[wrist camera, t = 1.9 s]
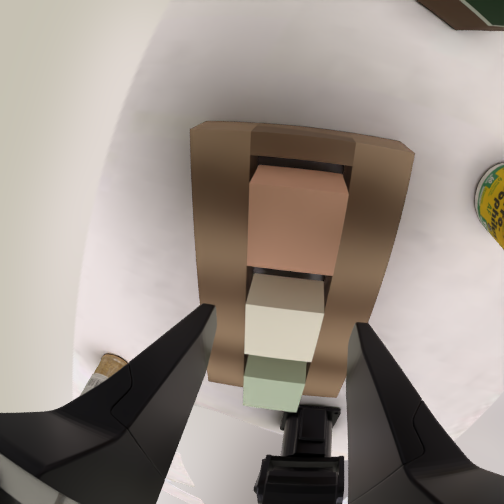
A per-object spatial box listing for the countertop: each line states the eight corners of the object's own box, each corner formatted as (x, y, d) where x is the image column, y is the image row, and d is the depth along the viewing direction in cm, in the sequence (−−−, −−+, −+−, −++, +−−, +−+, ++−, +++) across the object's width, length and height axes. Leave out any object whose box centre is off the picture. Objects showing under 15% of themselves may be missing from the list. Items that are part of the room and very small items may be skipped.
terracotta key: (330, 245, 18) (332, 275, 16) (255, 237, 19) (246, 265, 16) (342, 173, 16) (348, 194, 13) (259, 164, 16) (249, 183, 14)
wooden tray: (336, 372, 29) (336, 397, 26) (216, 357, 30) (208, 381, 27) (399, 141, 17) (414, 153, 14) (206, 121, 18) (189, 129, 16)
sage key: (299, 383, 26) (296, 412, 23) (249, 377, 26) (243, 405, 24) (307, 352, 23) (305, 383, 21) (250, 345, 24) (243, 376, 21)
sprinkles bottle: (104, 366, 36) (60, 448, 25) (101, 347, 33) (50, 436, 22) (135, 380, 36) (94, 466, 25) (134, 362, 34) (88, 457, 22)
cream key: (312, 329, 22) (311, 362, 19) (252, 322, 22) (244, 353, 20) (323, 281, 19) (324, 313, 17) (254, 272, 20) (245, 304, 17)
